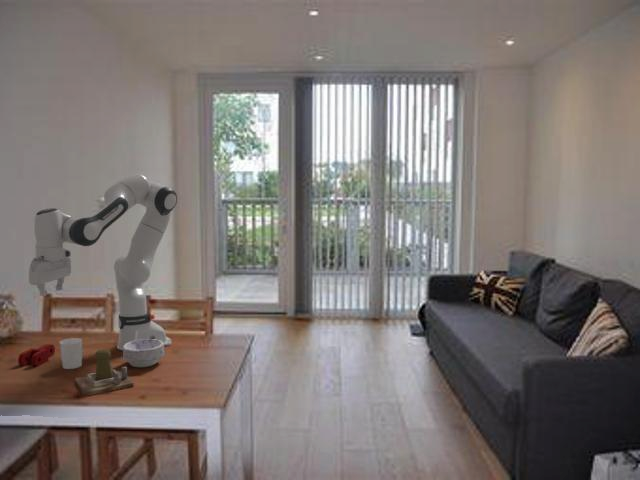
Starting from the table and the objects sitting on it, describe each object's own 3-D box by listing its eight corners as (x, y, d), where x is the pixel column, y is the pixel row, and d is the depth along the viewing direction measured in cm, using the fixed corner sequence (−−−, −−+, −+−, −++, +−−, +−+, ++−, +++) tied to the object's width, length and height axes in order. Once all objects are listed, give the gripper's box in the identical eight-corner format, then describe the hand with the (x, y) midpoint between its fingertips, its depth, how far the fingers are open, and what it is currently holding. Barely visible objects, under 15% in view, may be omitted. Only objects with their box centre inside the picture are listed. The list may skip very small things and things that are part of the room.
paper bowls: (126, 372, 207) (126, 352, 206) (120, 361, 221) (120, 341, 220) (168, 366, 214) (167, 346, 213) (160, 355, 228) (159, 336, 227)
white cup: (88, 364, 217) (86, 339, 215) (73, 370, 209) (71, 345, 208) (71, 362, 219) (70, 337, 218) (56, 368, 212) (54, 343, 210)
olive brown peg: (98, 377, 199) (97, 347, 197) (115, 377, 199) (114, 347, 198) (92, 383, 193) (91, 352, 191) (110, 383, 193) (109, 352, 192)
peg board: (121, 372, 207) (121, 359, 206) (133, 386, 194) (133, 371, 193) (75, 381, 198) (74, 367, 198) (84, 396, 185) (83, 381, 184)
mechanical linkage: (35, 368, 213) (34, 355, 212) (18, 367, 214) (17, 354, 213) (60, 355, 228) (59, 343, 228) (44, 354, 229) (43, 342, 229)
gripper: (40, 258, 187) (42, 299, 189) (73, 251, 207) (75, 287, 209) (22, 258, 188) (24, 298, 189) (57, 250, 208) (59, 287, 210)
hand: (51, 292), depth 199 cm, fingers open, 8 cm apart
